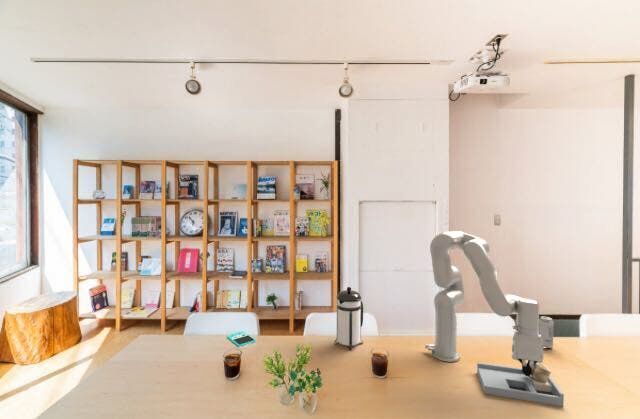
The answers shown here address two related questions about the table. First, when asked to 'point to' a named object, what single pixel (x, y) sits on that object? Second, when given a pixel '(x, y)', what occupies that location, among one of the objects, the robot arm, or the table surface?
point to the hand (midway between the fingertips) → (526, 374)
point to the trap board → (517, 385)
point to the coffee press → (349, 318)
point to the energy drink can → (546, 331)
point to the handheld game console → (241, 338)
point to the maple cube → (540, 372)
